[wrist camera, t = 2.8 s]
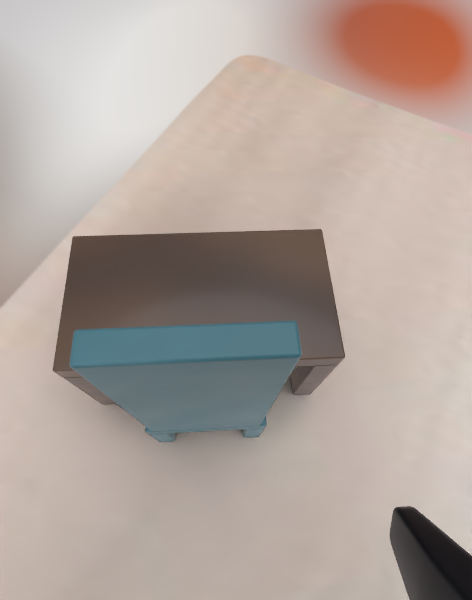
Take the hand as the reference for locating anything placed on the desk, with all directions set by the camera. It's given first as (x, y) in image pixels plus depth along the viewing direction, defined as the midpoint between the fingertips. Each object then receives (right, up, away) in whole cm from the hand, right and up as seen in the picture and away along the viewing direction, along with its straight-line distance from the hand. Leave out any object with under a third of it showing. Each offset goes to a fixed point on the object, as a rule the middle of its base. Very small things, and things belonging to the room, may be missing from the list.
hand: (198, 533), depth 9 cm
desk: (-1, +3, +13) cm, 13 cm away
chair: (-1, 0, +12) cm, 12 cm away
